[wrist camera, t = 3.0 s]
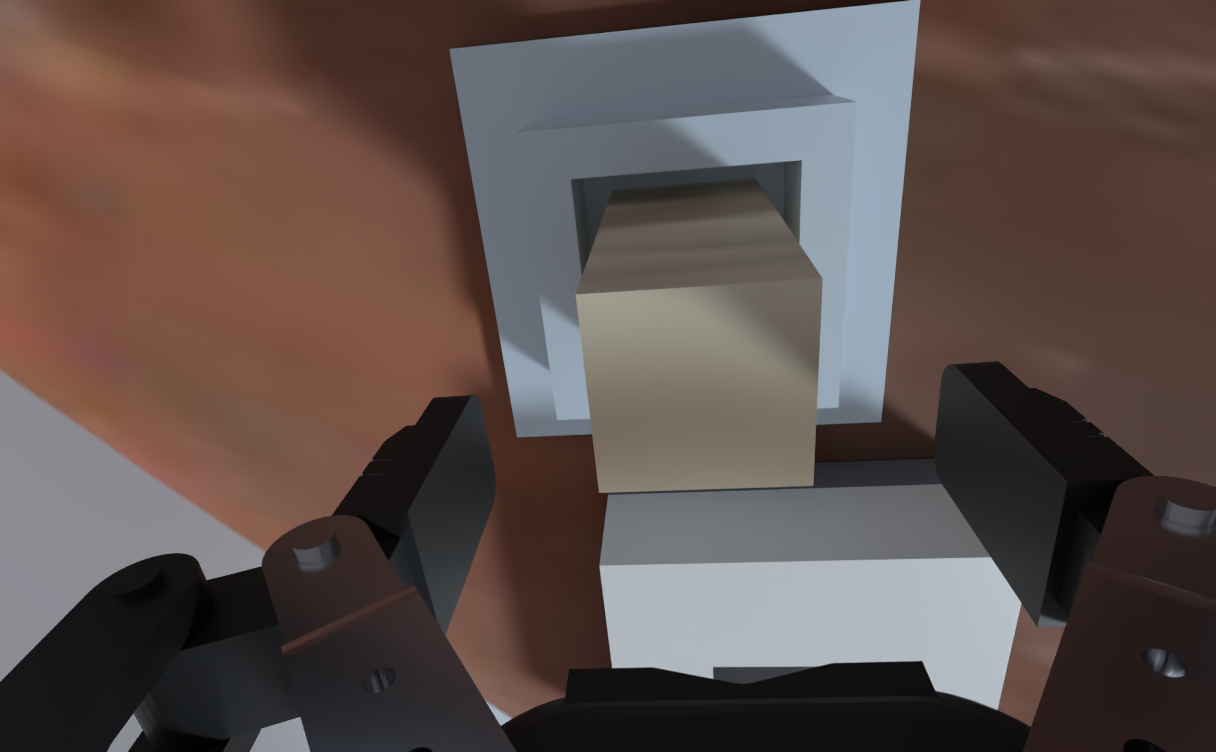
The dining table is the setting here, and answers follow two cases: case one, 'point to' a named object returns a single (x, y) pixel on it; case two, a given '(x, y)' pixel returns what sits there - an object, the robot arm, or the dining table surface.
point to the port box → (807, 580)
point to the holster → (691, 173)
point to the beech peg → (700, 341)
